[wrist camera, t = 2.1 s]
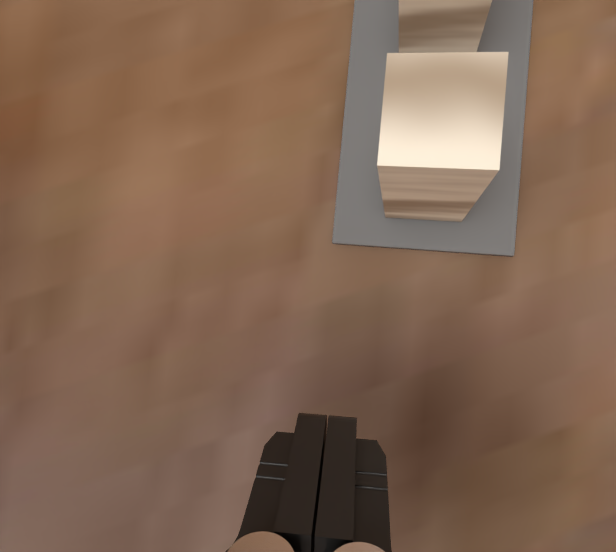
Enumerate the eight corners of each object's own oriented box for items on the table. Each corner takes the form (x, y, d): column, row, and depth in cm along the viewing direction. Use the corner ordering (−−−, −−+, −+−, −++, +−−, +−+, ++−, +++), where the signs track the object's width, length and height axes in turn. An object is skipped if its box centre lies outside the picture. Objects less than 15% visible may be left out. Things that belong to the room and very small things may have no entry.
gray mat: (512, 256, 31) (513, 255, 30) (333, 243, 33) (332, 242, 33) (545, -188, 32) (548, -196, 32) (371, -170, 35) (371, -177, 34)
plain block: (461, 221, 31) (499, 170, 19) (385, 217, 32) (376, 165, 20) (467, 147, 31) (508, 51, 19) (391, 145, 32) (387, 52, 20)
